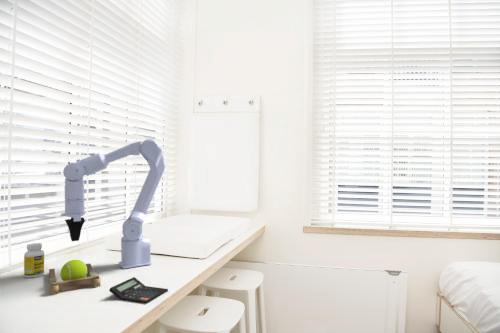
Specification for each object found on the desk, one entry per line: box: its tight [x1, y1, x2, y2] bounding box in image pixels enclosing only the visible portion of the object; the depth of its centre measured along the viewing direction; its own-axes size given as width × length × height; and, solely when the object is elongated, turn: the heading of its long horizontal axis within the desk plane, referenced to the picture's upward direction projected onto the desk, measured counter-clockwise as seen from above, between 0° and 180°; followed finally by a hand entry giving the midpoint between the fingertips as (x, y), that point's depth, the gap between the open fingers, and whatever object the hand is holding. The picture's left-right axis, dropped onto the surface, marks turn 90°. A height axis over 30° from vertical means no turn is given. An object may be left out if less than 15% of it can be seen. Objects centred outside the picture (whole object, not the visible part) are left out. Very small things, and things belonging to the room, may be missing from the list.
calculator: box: [109, 276, 169, 305], centre depth 92 cm, size 9×12×3 cm
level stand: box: [48, 263, 101, 296], centre depth 104 cm, size 12×22×2 cm, turn 32°
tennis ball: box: [59, 259, 88, 281], centre depth 101 cm, size 7×7×7 cm
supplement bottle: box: [23, 242, 45, 279], centre depth 109 cm, size 5×5×10 cm
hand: (75, 240), depth 114 cm, fingers closed
